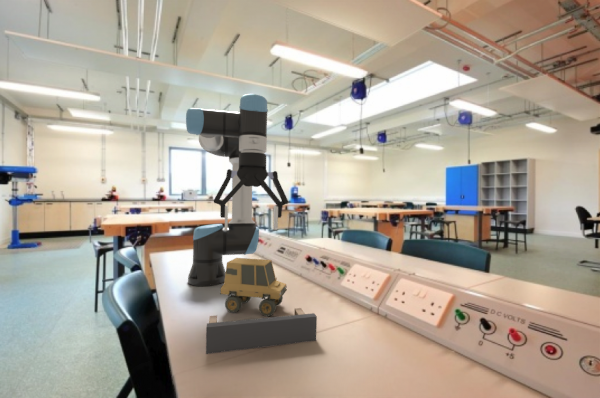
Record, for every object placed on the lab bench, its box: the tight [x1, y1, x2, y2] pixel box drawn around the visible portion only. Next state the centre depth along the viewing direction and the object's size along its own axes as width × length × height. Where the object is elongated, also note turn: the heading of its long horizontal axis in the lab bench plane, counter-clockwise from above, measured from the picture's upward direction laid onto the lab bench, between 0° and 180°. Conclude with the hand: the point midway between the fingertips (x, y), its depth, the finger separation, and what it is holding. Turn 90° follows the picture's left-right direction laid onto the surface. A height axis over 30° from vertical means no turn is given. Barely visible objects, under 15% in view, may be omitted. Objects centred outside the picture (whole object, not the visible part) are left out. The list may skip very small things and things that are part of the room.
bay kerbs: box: [208, 307, 306, 323], centre depth 74 cm, size 12×26×2 cm, turn 105°
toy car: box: [219, 257, 287, 317], centre depth 88 cm, size 10×19×15 cm, turn 79°
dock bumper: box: [205, 312, 318, 355], centre depth 67 cm, size 2×26×6 cm, turn 105°
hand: (251, 229), depth 78 cm, fingers open, 13 cm apart
